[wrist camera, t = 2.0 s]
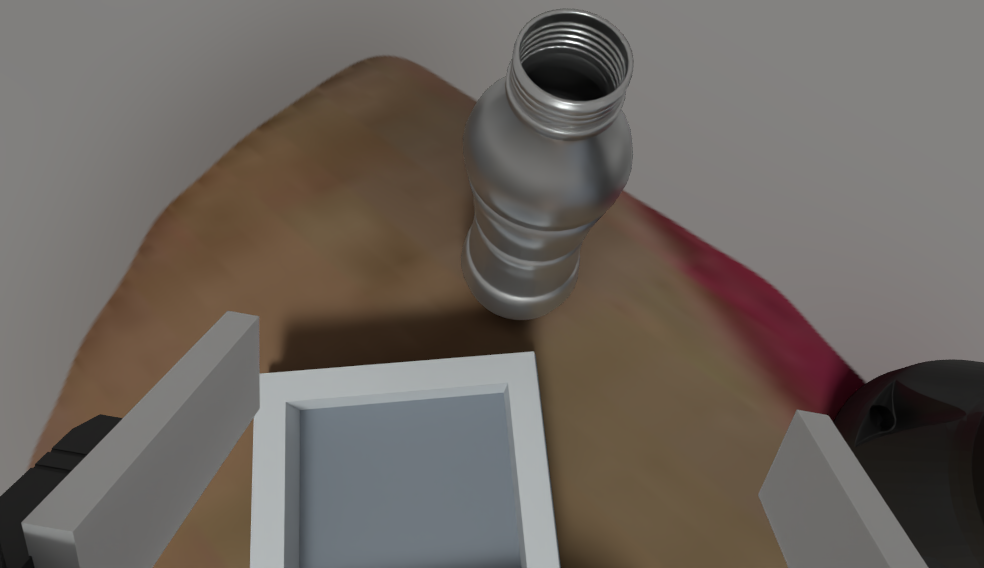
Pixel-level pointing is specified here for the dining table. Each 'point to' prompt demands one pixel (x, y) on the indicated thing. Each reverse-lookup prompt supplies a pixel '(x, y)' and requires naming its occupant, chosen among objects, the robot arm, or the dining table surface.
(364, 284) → the dining table surface
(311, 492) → the light grey square tray
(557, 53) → the plastic bottle
